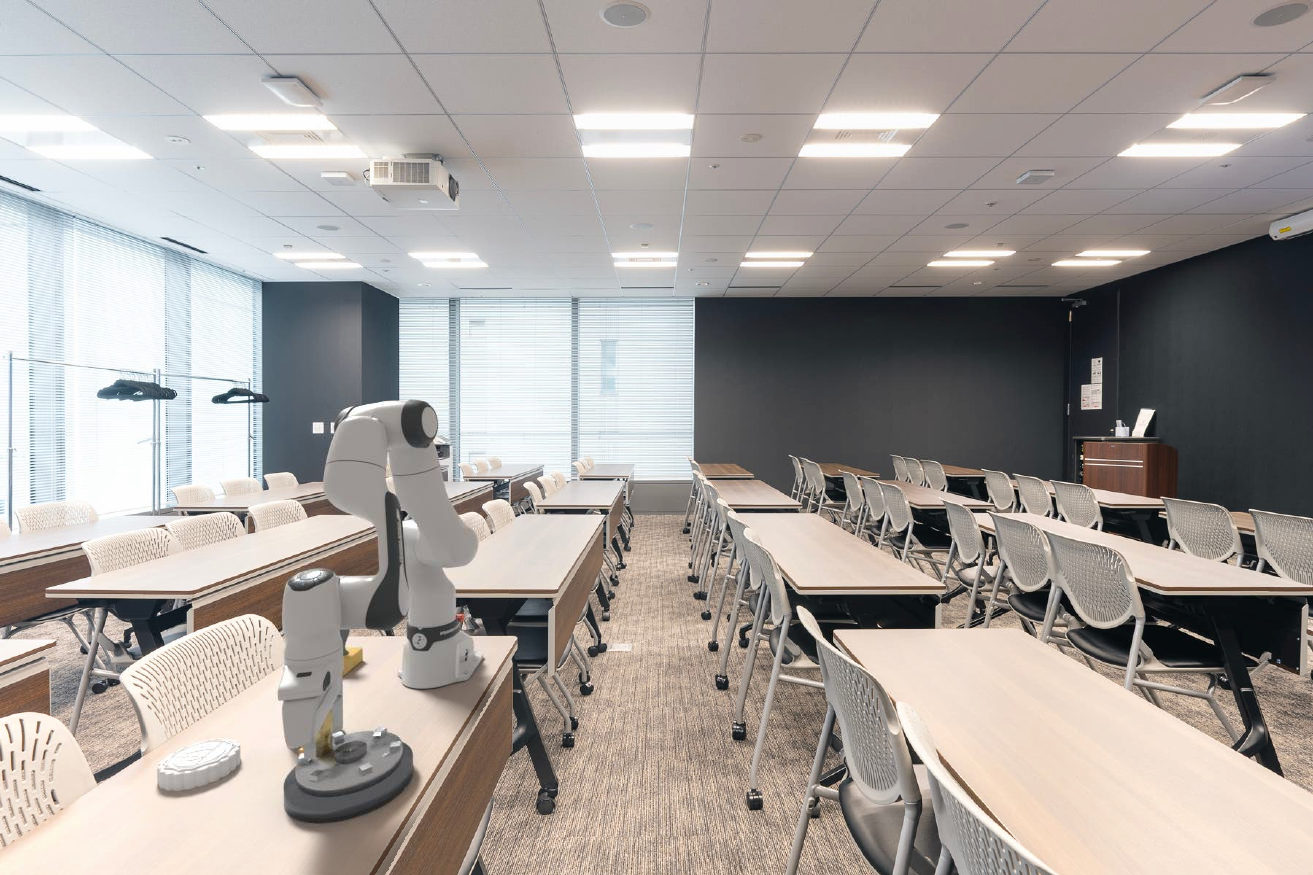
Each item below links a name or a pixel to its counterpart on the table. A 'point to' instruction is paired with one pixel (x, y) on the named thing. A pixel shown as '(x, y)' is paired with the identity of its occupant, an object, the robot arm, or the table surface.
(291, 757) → the table surface
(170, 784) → the mooncake
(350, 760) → the studded round base
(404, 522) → the robot arm
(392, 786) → the grey round platform
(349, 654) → the rubber stamp
